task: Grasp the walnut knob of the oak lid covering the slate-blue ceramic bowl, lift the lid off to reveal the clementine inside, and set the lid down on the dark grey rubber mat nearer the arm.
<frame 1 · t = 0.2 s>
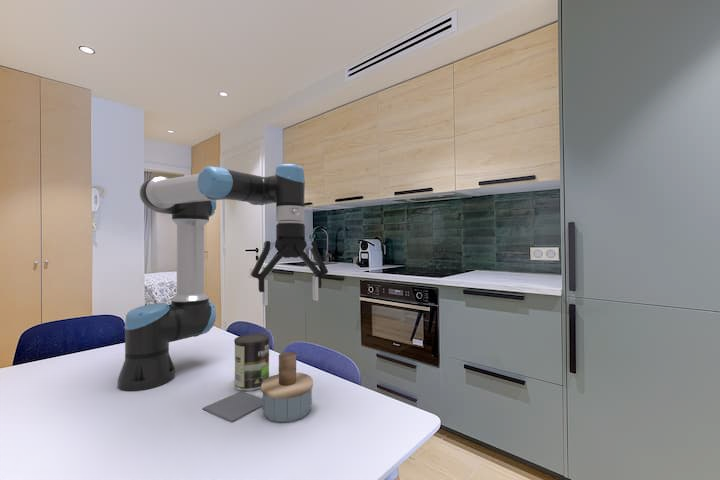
hand: (291, 302, 89), 27 cm above the table, fingers open, 13 cm apart
lid: (287, 386, 85), point 6 cm above the table, touching bowl
coffee can: (252, 384, 102), on the table
bowl: (287, 410, 85), on the table
mat: (237, 405, 88), on the table
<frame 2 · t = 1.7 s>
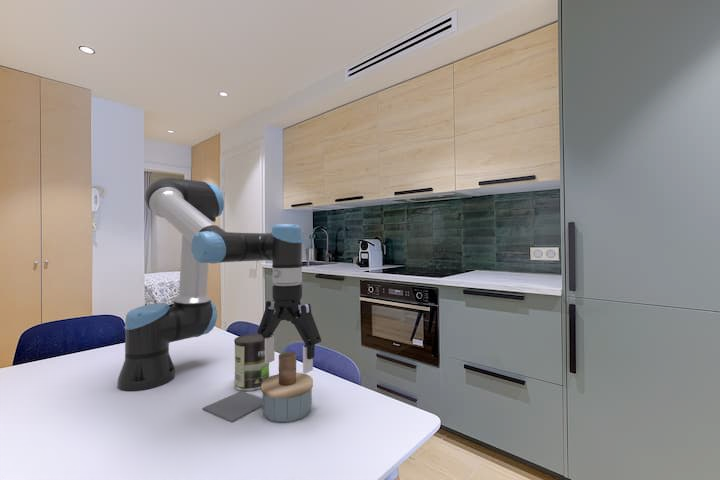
hand: (288, 366, 85), 11 cm above the table, fingers open, 13 cm apart
nothing on the table moved.
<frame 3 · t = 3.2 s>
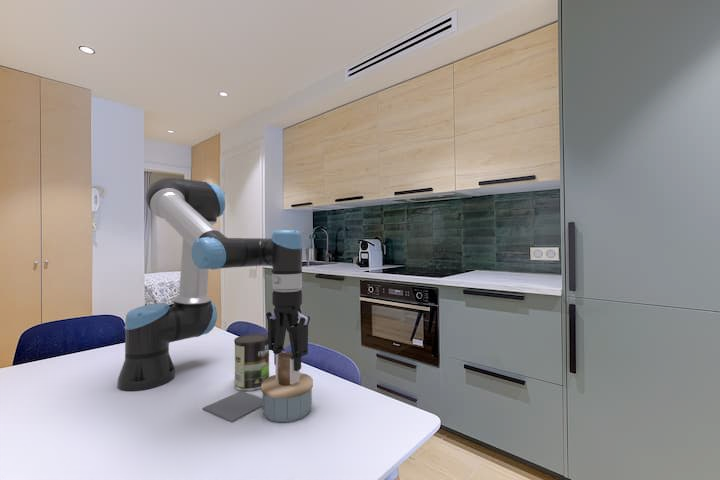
hand: (287, 380, 86), 8 cm above the table, fingers closed on lid, 4 cm apart
lid: (287, 386, 85), point 6 cm above the table, touching bowl, gripper
everything else where it was.
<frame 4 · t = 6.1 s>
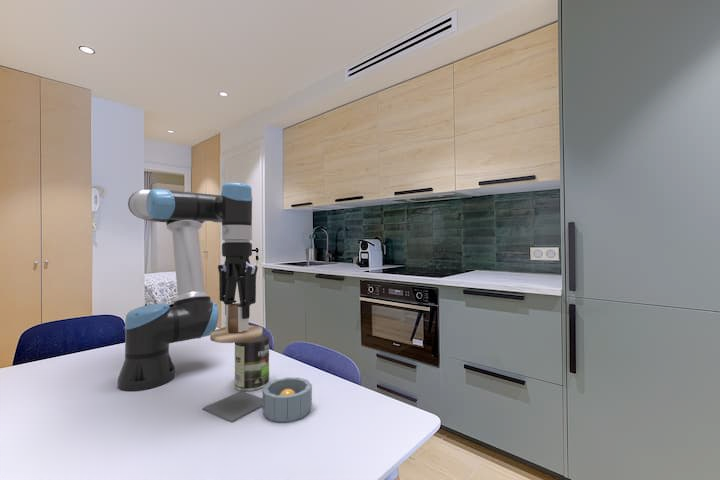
hand: (237, 329, 88), 20 cm above the table, fingers closed on lid, 4 cm apart
lid: (237, 335, 88), point 19 cm above the table, touching gripper
everything else where it was.
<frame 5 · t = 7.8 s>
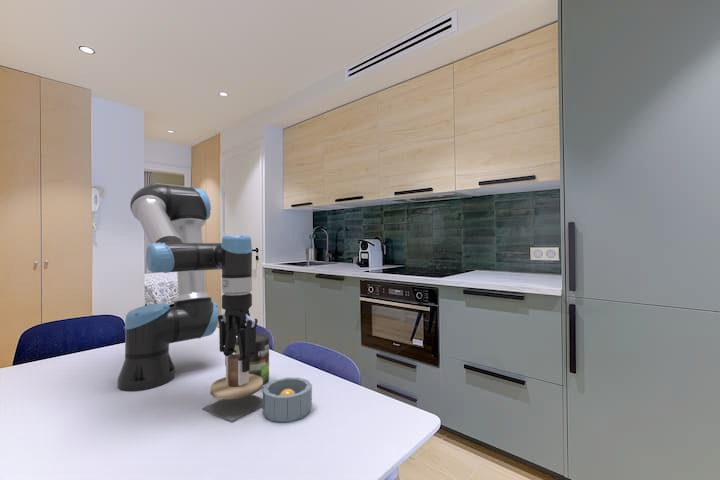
hand: (237, 381, 88), 7 cm above the table, fingers closed on lid, 4 cm apart
lid: (237, 387, 88), point 5 cm above the table, touching gripper
everything else where it was.
when the fingers open (3 cm above the table, at t = 9.1 s): lid drops 1 cm, resting on mat.
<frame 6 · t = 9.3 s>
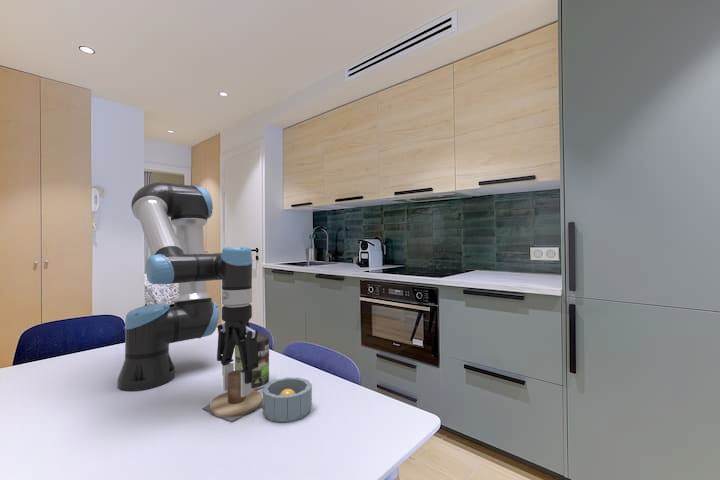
hand: (237, 391, 88), 4 cm above the table, fingers open, 7 cm apart
lid: (236, 404, 88), resting on mat
everything else where it was.
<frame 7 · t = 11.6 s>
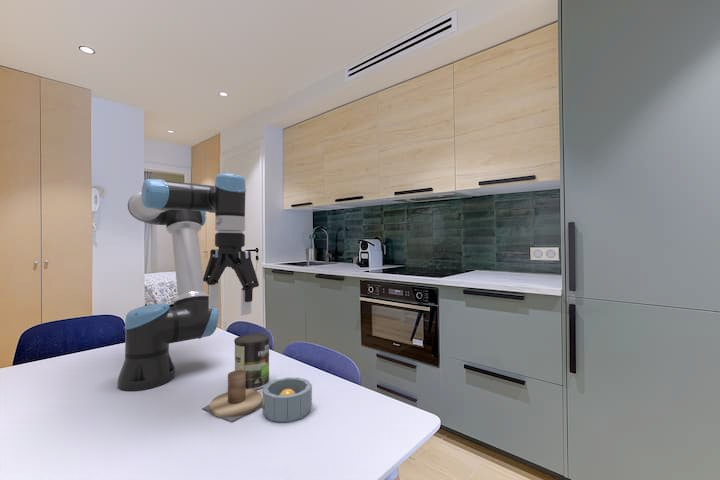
hand: (229, 311, 90), 25 cm above the table, fingers open, 13 cm apart
nothing on the table moved.
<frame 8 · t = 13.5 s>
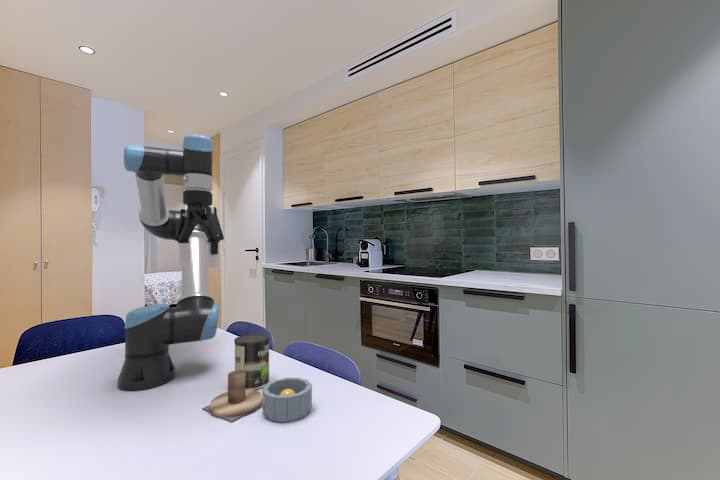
hand: (197, 266, 94), 37 cm above the table, fingers open, 13 cm apart
nothing on the table moved.
at the end: lid inside the target area on the mat (0.1 cm from its centre), point 0.4 cm above the mat's base; lid touching mat; lid tilted 0° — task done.
